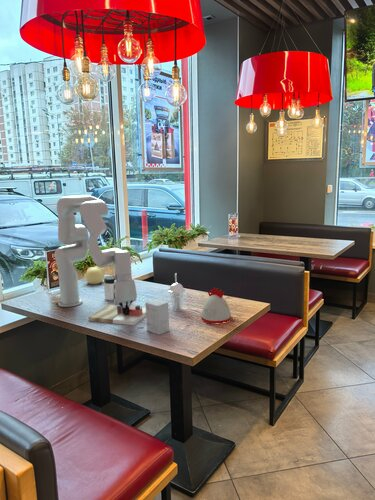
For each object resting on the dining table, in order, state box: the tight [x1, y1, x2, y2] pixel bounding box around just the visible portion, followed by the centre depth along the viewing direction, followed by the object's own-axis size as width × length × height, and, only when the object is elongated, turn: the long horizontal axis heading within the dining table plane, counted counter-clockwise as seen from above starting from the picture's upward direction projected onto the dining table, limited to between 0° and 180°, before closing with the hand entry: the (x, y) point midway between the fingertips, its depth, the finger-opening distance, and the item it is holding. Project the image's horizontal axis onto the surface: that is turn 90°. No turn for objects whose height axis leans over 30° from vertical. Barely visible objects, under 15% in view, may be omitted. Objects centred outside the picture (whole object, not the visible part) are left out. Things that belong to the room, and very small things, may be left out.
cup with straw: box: [167, 272, 186, 312], centre depth 193 cm, size 8×9×20 cm
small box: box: [145, 298, 170, 336], centre depth 168 cm, size 8×6×13 cm
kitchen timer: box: [200, 287, 232, 324], centre depth 180 cm, size 14×14×15 cm
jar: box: [103, 275, 115, 301], centre depth 216 cm, size 9×8×12 cm
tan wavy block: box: [88, 304, 122, 324], centre depth 189 cm, size 13×18×5 cm
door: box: [112, 305, 146, 326], centre depth 186 cm, size 11×18×4 cm, turn 162°
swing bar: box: [121, 305, 143, 316], centre depth 184 cm, size 10×3×4 cm, turn 66°
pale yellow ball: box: [85, 265, 106, 285], centre depth 249 cm, size 11×12×11 cm
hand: (126, 314), depth 182 cm, fingers closed
